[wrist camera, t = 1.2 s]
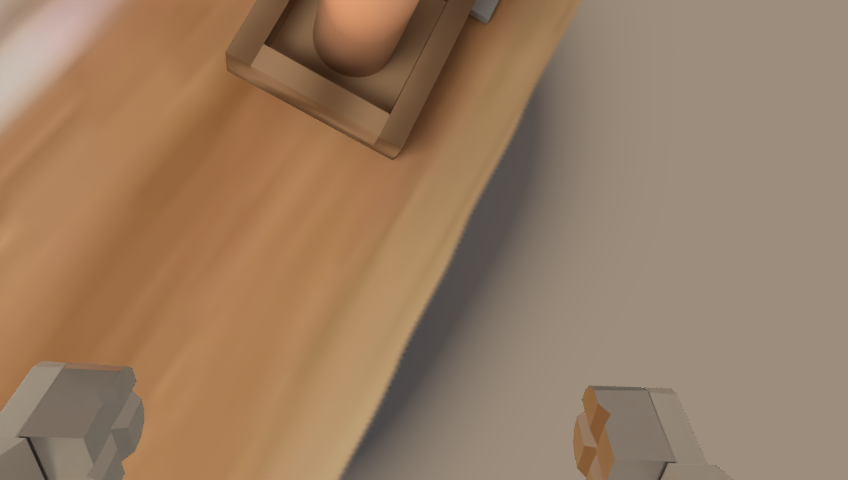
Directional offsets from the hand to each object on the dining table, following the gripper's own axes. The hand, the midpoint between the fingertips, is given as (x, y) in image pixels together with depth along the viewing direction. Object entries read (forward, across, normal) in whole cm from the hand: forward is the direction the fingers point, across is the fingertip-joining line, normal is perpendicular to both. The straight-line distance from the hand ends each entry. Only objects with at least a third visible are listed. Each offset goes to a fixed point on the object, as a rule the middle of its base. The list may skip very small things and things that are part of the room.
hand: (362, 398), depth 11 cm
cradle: (+31, +3, +3) cm, 32 cm away
